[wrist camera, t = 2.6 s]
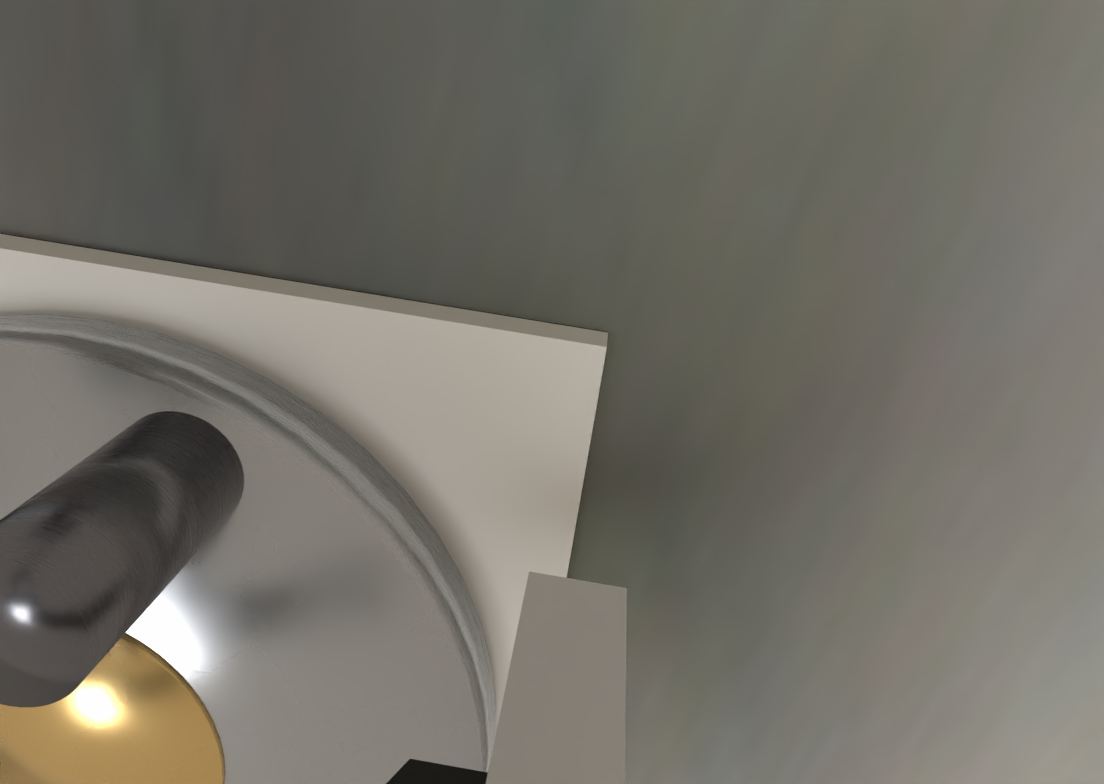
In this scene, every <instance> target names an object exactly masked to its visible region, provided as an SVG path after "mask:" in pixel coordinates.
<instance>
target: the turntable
mask: <svg viewBox="0 0 1104 784" xmlns="http://www.w3.org/2000/svg"><path fill="white" fill-rule="evenodd" d="M495 719H496V703H495V692H494V681H493V670H492V664H491V660H490V656H489V652H488V648H487V644H486V640H485V636H484V632H483V627H482V623H481V621H480V618H479V616H478V613H477V611H476V608H475V606H474V603H473V601H472V598H471V596H470V593H469V591H468V589H467V586H466V584H465V581H464V579H463V577H462V575H461V573H460V571H459V570H458V568H457V566H456V564H455V563H454V561H453V559H452V557H451V556H450V554H449V552H448V550H447V549H446V547H445V545H444V543H443V542H442V540H441V538H440V536H439V535H438V533H437V531H436V530H435V529H434V528H433V526H432V525H431V524H430V522H429V521H428V520H427V518H426V517H425V516H424V514H423V513H422V512H421V510H420V509H419V508H418V506H417V505H416V504H415V502H414V501H413V500H412V498H411V497H410V496H409V494H408V493H407V492H406V490H405V489H404V488H403V487H402V486H401V485H400V484H399V483H398V482H397V481H396V480H395V479H394V478H393V477H392V476H391V475H390V474H389V473H388V472H387V471H386V470H385V468H384V467H383V466H382V465H381V464H380V463H379V462H378V461H377V460H376V459H375V458H374V457H373V456H372V455H371V454H370V453H369V452H368V451H367V450H366V449H365V448H364V447H363V446H361V445H360V444H359V443H358V442H357V441H355V440H354V439H353V438H352V437H350V436H349V435H348V434H347V433H346V432H344V431H343V430H342V429H341V428H339V427H338V426H337V425H336V424H335V423H333V422H332V421H331V420H330V419H328V418H327V417H326V416H325V415H324V414H322V413H321V412H320V411H318V410H317V409H315V408H314V407H312V406H311V405H309V404H307V403H306V402H304V401H303V400H301V399H300V398H298V397H297V396H295V395H293V394H292V393H290V392H289V391H287V390H286V389H284V388H283V387H281V386H279V385H278V384H276V383H275V382H273V381H272V380H270V379H268V378H266V377H264V376H262V375H260V374H258V373H256V372H254V371H252V370H250V369H248V368H246V367H244V366H242V365H240V364H238V363H236V362H234V361H232V360H230V359H228V358H226V357H223V356H221V355H219V354H217V353H215V352H212V351H209V350H207V349H204V348H201V347H198V346H195V345H193V344H190V343H187V342H184V341H181V340H179V339H176V338H173V337H170V336H167V335H165V334H162V333H159V332H154V331H150V330H146V329H141V328H137V327H132V326H128V325H124V324H119V323H115V322H111V321H106V320H101V319H91V318H81V317H72V316H62V315H52V314H24V315H0V784H386V783H387V782H388V781H389V780H390V779H391V778H392V777H393V776H394V775H395V774H396V773H397V772H398V771H399V769H400V768H401V767H402V766H403V765H404V764H405V763H406V762H407V761H408V760H409V759H415V760H421V761H426V762H432V763H438V764H443V765H449V766H454V767H460V768H466V769H471V770H477V771H482V772H488V770H489V765H490V760H491V755H492V750H493V745H494V734H495Z"/></svg>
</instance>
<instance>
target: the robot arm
mask: <svg viewBox="0 0 1104 784" xmlns="http://www.w3.org/2000/svg"><path fill="white" fill-rule="evenodd" d="M626 626H627V588H623V587H617V586H611V585H605V584H600V583H594V582H588V581H582V580H576V579H570V578H565V577H559V576H553V575H547V574H541V573H535V572H530V571H529V574H528V579H527V584H526V589H525V594H524V599H523V604H522V609H521V613H520V618H519V623H518V628H517V633H516V638H515V643H514V648H513V653H512V657H511V662H510V667H509V672H508V677H507V682H506V687H505V692H504V697H503V701H502V706H501V711H500V716H499V721H498V726H497V731H496V736H495V740H494V745H493V750H492V755H491V760H490V765H489V770H488V772H482V771H477V770H471V769H466V768H460V767H454V766H449V765H443V764H438V763H432V762H426V761H421V760H415V759H409V760H408V761H407V762H406V763H405V764H404V765H403V766H402V767H401V768H400V769H399V771H398V772H397V773H396V774H395V775H394V776H393V777H392V778H391V779H390V780H389V781H388V782H387V783H386V784H625V737H626Z"/></svg>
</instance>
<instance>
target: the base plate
mask: <svg viewBox="0 0 1104 784" xmlns="http://www.w3.org/2000/svg"><path fill="white" fill-rule="evenodd" d="M24 314H52V315H62V316H72V317H81V318H91V319H101V320H106V321H111V322H115V323H119V324H124V325H128V326H132V327H137V328H141V329H146V330H150V331H154V332H159V333H162V334H165V335H167V336H170V337H173V338H176V339H179V340H181V341H184V342H187V343H190V344H193V345H195V346H198V347H201V348H204V349H207V350H209V351H212V352H215V353H217V354H219V355H221V356H223V357H226V358H228V359H230V360H232V361H234V362H236V363H238V364H240V365H242V366H244V367H246V368H248V369H250V370H252V371H254V372H256V373H258V374H260V375H262V376H264V377H266V378H268V379H270V380H272V381H273V382H275V383H276V384H278V385H279V386H281V387H283V388H284V389H286V390H287V391H289V392H290V393H292V394H293V395H295V396H297V397H298V398H300V399H301V400H303V401H304V402H306V403H307V404H309V405H311V406H312V407H314V408H315V409H317V410H318V411H320V412H321V413H322V414H324V415H325V416H326V417H327V418H328V419H330V420H331V421H332V422H333V423H335V424H336V425H337V426H338V427H339V428H341V429H342V430H343V431H344V432H346V433H347V434H348V435H349V436H350V437H352V438H353V439H354V440H355V441H357V442H358V443H359V444H360V445H361V446H363V447H364V448H365V449H366V450H367V451H368V452H369V453H370V454H371V455H372V456H373V457H374V458H375V459H376V460H377V461H378V462H379V463H380V464H381V465H382V466H383V467H384V468H385V470H386V471H387V472H388V473H389V474H390V475H391V476H392V477H393V478H394V479H395V480H396V481H397V482H398V483H399V484H400V485H401V486H402V487H403V488H404V489H405V490H406V492H407V493H408V494H409V496H410V497H411V498H412V500H413V501H414V502H415V504H416V505H417V506H418V508H419V509H420V510H421V512H422V513H423V514H424V516H425V517H426V518H427V520H428V521H429V522H430V524H431V525H432V526H433V528H434V529H435V530H436V531H437V533H438V535H439V536H440V538H441V540H442V542H443V543H444V545H445V547H446V549H447V550H448V552H449V554H450V556H451V557H452V559H453V561H454V563H455V564H456V566H457V568H458V570H459V571H460V573H461V575H462V577H463V579H464V581H465V584H466V586H467V589H468V591H469V593H470V596H471V598H472V601H473V603H474V606H475V608H476V611H477V613H478V616H479V618H480V621H481V623H482V627H483V632H484V636H485V640H486V644H487V648H488V652H489V656H490V660H491V664H492V670H493V681H494V692H495V703H496V719H495V734H494V740H495V736H496V731H497V726H498V721H499V716H500V711H501V706H502V701H503V697H504V692H505V687H506V682H507V677H508V672H509V667H510V662H511V657H512V653H513V648H514V643H515V638H516V633H517V628H518V623H519V618H520V613H521V609H522V604H523V599H524V594H525V589H526V584H527V579H528V574H529V571H530V572H535V573H541V574H547V575H553V576H559V577H565V578H567V573H568V567H569V562H570V556H571V550H572V544H573V539H574V533H575V527H576V521H577V516H578V510H579V504H580V498H581V493H582V487H583V481H584V476H585V470H586V464H587V458H588V453H589V447H590V441H591V435H592V430H593V424H594V418H595V412H596V407H597V401H598V395H599V389H600V384H601V378H602V372H603V366H604V361H605V355H606V349H607V340H608V333H607V332H601V331H595V330H589V329H583V328H576V327H570V326H564V325H558V324H552V323H546V322H540V321H533V320H527V319H521V318H515V317H509V316H503V315H496V314H490V313H484V312H478V311H472V310H466V309H460V308H453V307H447V306H441V305H435V304H429V303H423V302H416V301H410V300H404V299H398V298H392V297H386V296H380V295H373V294H367V293H361V292H355V291H349V290H343V289H336V288H330V287H324V286H318V285H312V284H306V283H300V282H293V281H287V280H281V279H275V278H269V277H263V276H256V275H250V274H244V273H238V272H232V271H226V270H220V269H213V268H207V267H201V266H195V265H189V264H183V263H176V262H170V261H164V260H158V259H152V258H146V257H140V256H133V255H127V254H121V253H115V252H109V251H103V250H96V249H90V248H84V247H78V246H72V245H66V244H60V243H53V242H47V241H41V240H35V239H29V238H23V237H16V236H10V235H4V234H0V315H24Z"/></svg>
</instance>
